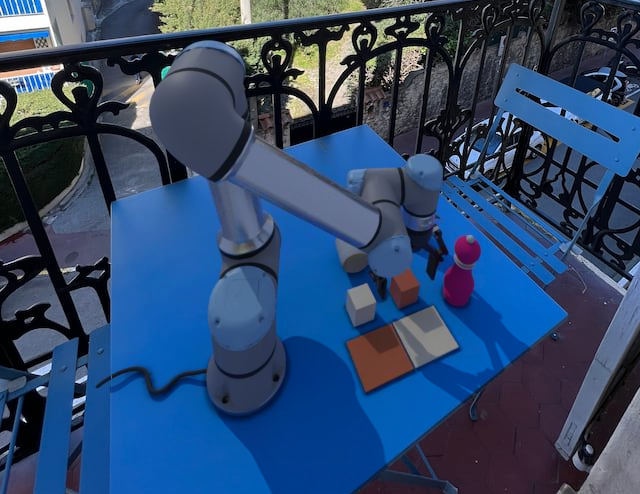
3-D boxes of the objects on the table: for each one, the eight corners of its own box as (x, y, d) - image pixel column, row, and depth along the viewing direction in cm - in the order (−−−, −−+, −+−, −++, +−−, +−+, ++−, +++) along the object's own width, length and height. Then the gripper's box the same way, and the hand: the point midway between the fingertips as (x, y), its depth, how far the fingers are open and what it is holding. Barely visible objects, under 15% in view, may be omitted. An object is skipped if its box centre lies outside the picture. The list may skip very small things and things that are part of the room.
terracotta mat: (365, 393, 79) (365, 391, 79) (346, 343, 87) (346, 342, 87) (413, 369, 83) (413, 368, 83) (390, 324, 91) (391, 323, 91)
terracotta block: (398, 309, 95) (401, 292, 92) (388, 290, 99) (391, 273, 96) (416, 301, 97) (420, 284, 94) (406, 283, 101) (409, 267, 98)
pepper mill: (435, 285, 101) (448, 227, 93) (459, 278, 104) (474, 220, 95) (450, 312, 95) (466, 253, 87) (476, 303, 98) (494, 245, 89)
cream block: (354, 327, 90) (356, 310, 88) (345, 307, 94) (347, 290, 92) (374, 319, 92) (376, 302, 90) (365, 299, 96) (367, 282, 94)
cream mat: (415, 368, 84) (416, 367, 83) (392, 323, 92) (393, 322, 91) (458, 347, 88) (458, 346, 88) (433, 306, 96) (433, 305, 96)
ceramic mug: (341, 278, 101) (344, 256, 98) (333, 251, 108) (335, 230, 105) (381, 269, 104) (384, 248, 101) (371, 244, 111) (374, 223, 108)
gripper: (372, 251, 79) (365, 319, 88) (473, 216, 89) (458, 280, 98) (357, 223, 85) (352, 289, 94) (453, 193, 95) (440, 256, 104)
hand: (406, 285), depth 96 cm, fingers open, 13 cm apart
